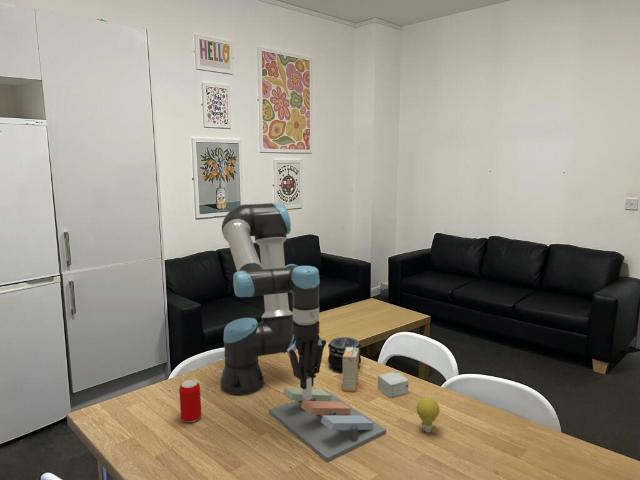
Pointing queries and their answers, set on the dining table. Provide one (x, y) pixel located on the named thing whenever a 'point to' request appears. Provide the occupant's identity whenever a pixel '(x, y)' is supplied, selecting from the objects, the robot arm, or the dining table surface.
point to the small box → (393, 384)
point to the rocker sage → (297, 395)
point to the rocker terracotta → (325, 407)
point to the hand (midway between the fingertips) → (307, 397)
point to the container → (341, 352)
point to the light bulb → (427, 412)
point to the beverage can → (190, 401)
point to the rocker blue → (346, 422)
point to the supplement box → (350, 369)
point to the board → (324, 430)
